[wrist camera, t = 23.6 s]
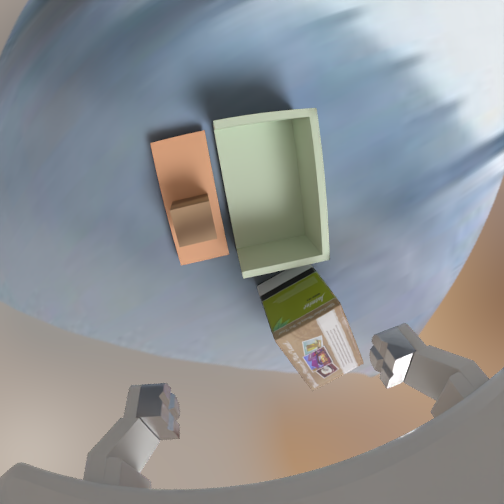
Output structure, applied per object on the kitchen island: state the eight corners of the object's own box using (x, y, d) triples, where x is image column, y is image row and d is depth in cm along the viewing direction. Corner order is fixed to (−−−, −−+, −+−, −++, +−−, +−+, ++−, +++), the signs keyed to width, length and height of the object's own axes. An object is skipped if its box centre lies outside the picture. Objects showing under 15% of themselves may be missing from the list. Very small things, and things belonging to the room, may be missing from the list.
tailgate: (204, 130, 35) (151, 143, 34) (204, 130, 34) (150, 143, 33) (228, 250, 43) (181, 261, 42) (229, 254, 42) (181, 265, 41)
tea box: (333, 313, 52) (365, 365, 39) (289, 337, 53) (311, 394, 40) (306, 255, 46) (342, 305, 33) (254, 284, 47) (272, 343, 33)
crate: (212, 124, 35) (213, 120, 28) (295, 112, 36) (316, 108, 28) (237, 252, 44) (243, 278, 36) (309, 237, 44) (329, 259, 37)
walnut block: (172, 201, 37) (169, 210, 32) (207, 193, 37) (209, 201, 33) (181, 234, 39) (179, 247, 35) (214, 226, 40) (217, 238, 35)
